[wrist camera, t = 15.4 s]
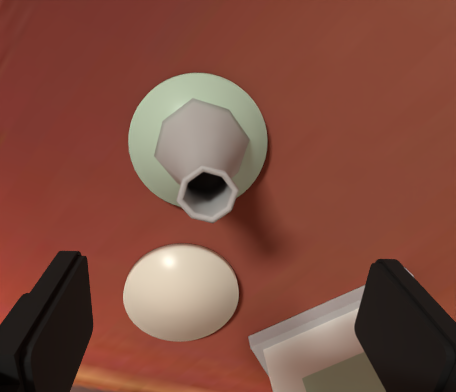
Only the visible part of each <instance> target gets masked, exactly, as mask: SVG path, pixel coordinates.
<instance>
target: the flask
mask: <svg viewBox="0 0 456 392" xmlns="http://www.w3.org/2000/svg"><path fill="white" fill-rule="evenodd" d="M249 140H250V139H249V137H248V136H247V134H246V133H245V132H244V130H243V129H242V127H241V126H240V124H239V123H238V121H237V120H236V119H235V117H234V116H233V114H232V113H231V111H230V110H229V109H226V108H223V107H220V106H217V105H213V104H210V103H207V102H204V101H201V100H197V99H194V98H192V99H191V100H189V101H188V102H187V103H185V104H184V105H183V106H182V107H180V108H179V109H178V110H176V111H175V112H174V113H172V114H171V115H170V116H168V117H167V118H166V119H164V120H163V121H162V125H161V129H160V133H159V137H158V141H157V145H156V149H155V153H154V157H155V158H156V159H157V160H158V161H159V163H160V164H161V165H162V166H163V167H164V168H165V170H166V171H167V172H168V173H169V174H170V176H171V177H172V178H173V179H174V180H175V181H176V183H178V184H179V185H180V189H179V192H178V196H177V199H176V201H177V203H178V204H179V205H180V206H181V207H182V208H183V209H184V211H185V212H186V213H187V214H188V215H189V216H190V217H191V218H193V219H197V220H201V221H206V222H210V223H214V222H216V221H217V220H219V219H220V218H222V217H223V216H225V215H226V214H227V213H229V212H230V211H232V208H233V206H234V203H235V200H236V197H237V194H238V191H239V188H238V187H237V186H236V184H235V183H234V182H233V180H232V179H231V178H232V177H234V176H235V175H236V174H237V173H238V172H239V169H240V166H241V163H242V160H243V157H244V154H245V151H246V148H247V146H248V143H249Z"/></svg>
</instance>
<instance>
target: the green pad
mask: <svg viewBox="0 0 456 392" xmlns="http://www.w3.org/2000/svg"><path fill="white" fill-rule="evenodd" d="M192 98H194V99H197V100H201V101H204V102H207V103H210V104H213V105H217V106H220V107H223V108H226V109H229V110H230V111H231V113H232V114H233V116H234V117H235V119H236V120H237V121H238V123H239V124H240V126H241V127H242V129H243V130H244V132H245V133H246V134H247V136H248V137H249V139H250V140H249V143H248V146H247V148H246V151H245V154H244V157H243V160H242V163H241V166H240V169H239V172H238V173H237V174H236V175H235V176H234V177H232V178H231V179H232V180H233V182H234V183H235V184H236V186H237V187H238V188H239V191H238V194H237V197H239V196H240V195H241V194H243V193H244V192H245V191H246V190H247V189H248V188H249V187H250V186H251V185H252V184H253V182H254V181H255V180H256V178H257V176H258V175H259V173H260V171H261V169H262V167H263V164H264V161H265V158H266V152H267V131H266V126H265V122H264V120H263V117H262V114H261V112H260V110H259V108H258V107H257V105H256V104H255V102H254V101H253V100H252V98H251V97H250V96H249V95H248V94H247V93H246V92H245V91H243V90H242V89H241V88H240V87H239V86H237V85H236V84H234V83H233V82H231V81H229V80H227V79H225V78H223V77H220V76H217V75H213V74H208V73H187V74H181V75H178V76H174V77H172V78H170V79H167V80H165V81H164V82H162V83H160V84H159V85H157V86H156V87H155V88H154V89H152V90H151V91H150V92H149V93H148V94H147V95H146V97H145V98H144V99H143V100H142V101H141V103H140V104H139V106H138V107H137V109H136V111H135V113H134V115H133V118H132V121H131V124H130V130H129V141H128V144H129V153H130V157H131V161H132V163H133V166H134V169H135V171H136V172H137V174H138V176H139V178H140V179H141V180H142V182H143V183H144V184H145V185H146V186H147V187H148V188H149V190H150V191H152V192H153V193H154V194H155V195H157V196H158V197H160V198H161V199H163V200H165V201H167V202H169V203H171V204H173V205H176V206H179V207H181V206H180V205H179V204H178V203H177V201H176V199H177V196H178V192H179V189H180V185H179V184H178V183H176V181H175V180H174V179H173V178H172V177H171V176H170V174H169V173H168V172H167V171H166V170H165V168H164V167H163V166H162V165H161V164H160V163H159V161H158V160H157V159H156V158H155V157H154V153H155V149H156V145H157V141H158V137H159V133H160V129H161V125H162V121H163V120H164V119H166V118H167V117H168V116H170V115H171V114H172V113H174V112H175V111H176V110H178V109H179V108H180V107H182V106H183V105H184V104H185V103H187V102H188V101H189V100H191V99H192ZM237 197H236V198H237Z"/></svg>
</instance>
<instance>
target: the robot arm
mask: <svg viewBox="0 0 456 392" xmlns="http://www.w3.org/2000/svg"><path fill="white" fill-rule="evenodd" d="M92 331H93V315H92V305H91V294H90V284H89V273H88V263H87V257H86V256H81V253H80V252H79V251H59V252H58V253H57V255H56V256H55V258H54V259H53V261H52V262H51V263H50V265H49V266H48V268H47V269H46V271H45V272H44V273H43V275H42V276H41V278H40V279H39V280H38V282H37V283H36V285H35V286H34V288H33V289H32V290H31V292H30V293H26V294H23V295H22V296H21V297H20V298H19V300H18V301H17V303H16V304H15V305H14V307H13V308H12V309H11V311H10V312H9V314H8V315H7V316H6V318H5V319H4V320H3V322H2V323H1V325H0V392H70V390H71V387H72V384H73V382H74V379H75V377H76V374H77V371H78V369H79V366H80V364H81V361H82V358H83V356H84V353H85V351H86V348H87V345H88V343H89V340H90V338H91V335H92ZM354 331H355V335H356V337H357V339H358V341H359V342H360V344H361V346H362V348H363V350H364V352H365V354H366V355H367V357H368V359H369V361H370V363H371V365H372V366H373V368H374V370H375V372H376V374H377V376H378V378H379V379H380V381H381V383H382V385H383V387H384V389H385V390H386V392H456V322H455V321H454V320H453V319H452V318H451V317H450V316H449V315H448V314H447V313H446V312H445V310H444V309H443V308H442V307H441V306H440V305H439V304H438V303H437V302H436V301H435V300H434V299H433V298H432V297H431V295H430V294H429V293H428V292H427V291H426V290H425V289H424V288H423V287H422V286H421V285H420V284H419V283H418V282H417V280H416V279H415V278H414V277H413V276H412V275H411V274H410V273H409V272H408V271H407V270H406V269H405V268H404V267H403V265H402V264H401V263H400V262H399V261H397V260H395V259H378V260H377V261H376V262H375V263H373V264H372V265H371V267H370V270H369V274H368V277H367V281H366V285H365V288H364V292H363V295H362V299H361V303H360V306H359V310H358V313H357V317H356V321H355V325H354Z"/></svg>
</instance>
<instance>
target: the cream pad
mask: <svg viewBox="0 0 456 392" xmlns="http://www.w3.org/2000/svg"><path fill="white" fill-rule="evenodd" d="M238 299H239V289H238V283H237V279H236V275H235V273H234V271H233V269H232V267H231V266H230V264H229V263H228V262H227V261H226V260H225V259H224V258H223V257H222V256H221V255H220V254H218V253H216V252H215V251H213V250H211V249H209V248H207V247H203V246H200V245H195V244H188V243H178V244H170V245H166V246H162V247H159V248H157V249H154V250H152V251H150V252H149V253H147V254H146V255H144V256H143V257H141V258H140V259H139V260H138V261H137V262H136V263H135V265H134V266H133V267H132V269H131V270H130V272H129V274H128V277H127V279H126V283H125V287H124V292H123V301H124V306H125V309H126V312H127V314H128V316H129V317H130V319H131V320H132V322H133V323H134V324H135V325H136V326H137V327H139V328H140V329H141V330H142V331H144V332H146V333H147V334H149V335H151V336H153V337H156V338H159V339H163V340H168V341H191V340H196V339H200V338H203V337H205V336H208V335H210V334H212V333H214V332H215V331H217V330H218V329H220V328H221V327H222V326H224V325H225V324H226V323H227V322H228V320H229V319H230V318H231V317H232V315H233V313H234V311H235V310H236V307H237V304H238Z"/></svg>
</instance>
